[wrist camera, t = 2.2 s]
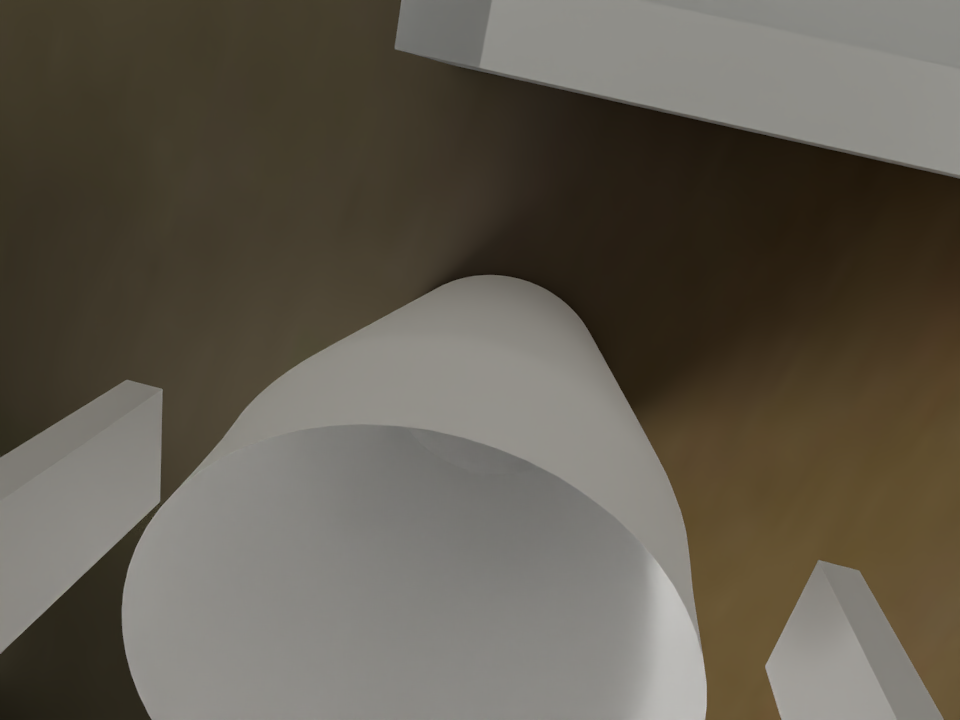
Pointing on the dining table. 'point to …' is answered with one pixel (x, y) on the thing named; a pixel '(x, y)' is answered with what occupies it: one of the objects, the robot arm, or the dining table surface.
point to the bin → (730, 63)
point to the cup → (425, 536)
